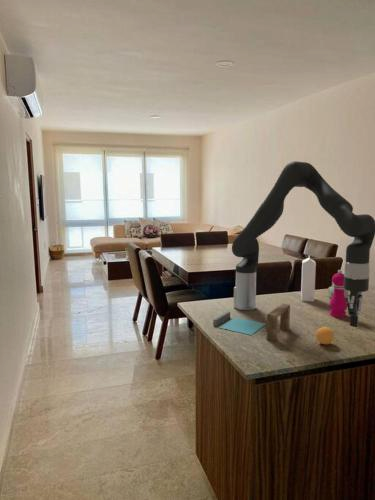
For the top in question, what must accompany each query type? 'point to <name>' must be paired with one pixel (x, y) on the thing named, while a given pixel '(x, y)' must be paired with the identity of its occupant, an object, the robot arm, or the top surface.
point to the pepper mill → (338, 296)
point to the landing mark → (243, 326)
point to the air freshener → (331, 291)
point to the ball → (325, 335)
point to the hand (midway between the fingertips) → (353, 325)
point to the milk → (308, 280)
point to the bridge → (272, 320)
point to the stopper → (221, 318)
